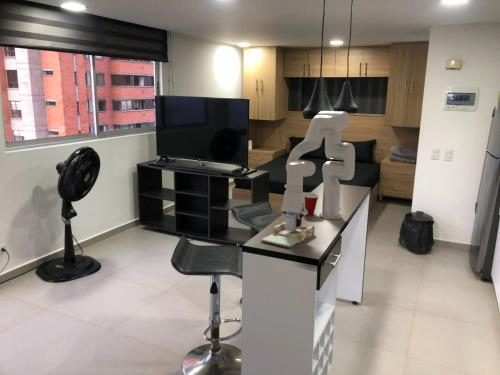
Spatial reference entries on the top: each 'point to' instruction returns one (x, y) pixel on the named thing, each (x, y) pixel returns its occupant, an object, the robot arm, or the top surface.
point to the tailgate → (280, 240)
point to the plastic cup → (310, 202)
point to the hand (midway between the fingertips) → (293, 225)
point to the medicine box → (291, 221)
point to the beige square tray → (294, 232)
